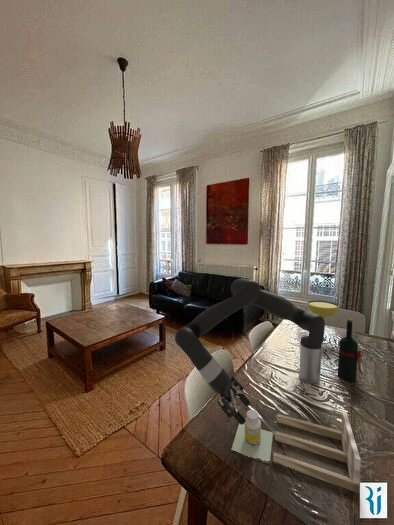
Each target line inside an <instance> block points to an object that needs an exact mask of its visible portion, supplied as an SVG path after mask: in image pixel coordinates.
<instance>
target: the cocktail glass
mask: <svg viewBox="0 0 394 525" xmlns="http://www.w3.org/2000/svg"><path fill="white" fill-rule="evenodd" d="M307 309H308V311H309V312H312V313H315V314H318V315H320V316H322V317H323V318H324V319H325V318H326V317H331V316H333V315H336V314H337V313H338V311H339V305H338V304H336V303H334V302H330V301H325V300H310V301H307ZM325 338H326V337H325ZM325 338H324V339H323V341H326V339H325Z"/></svg>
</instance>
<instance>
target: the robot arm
mask: <svg viewBox="0 0 394 525" xmlns="http://www.w3.org/2000/svg"><path fill="white" fill-rule="evenodd" d="M230 291H231V293H232V296H230V297H229V298H227V299H225V300H223V301H220V302H218V303H216V304H214V305H211V306H210V307H208V308H206V309H205V310H203V311H202V312H201V313H200V314H198V315H197V316H196V317H195V318H194V319H193V320H192V321H190V322H189V323H188V324H185V325H184V326H183V327H181V328H179V329H178V330H177V331H176V333H175V336H174V340H175V341H174V342H175V343H176V345H177V346H178V347H179V348H180V349H181V350H182V352H184V353H185V354H186V356H187V357H188V358H189V360H190V362H191V363H192V364H193V366H194V368H195V369H196V370H197V371H198V372H199V374H200V375H201V377H202V379H203V380H204V381H205V383H207V385H209V387H210V389H211V390H212V391H213V392H214V393H216V394H219V396H220V399H219V400H217V404H218V405H219V407H220V409H221V410H222V411H223V412H224V414H225V415H226V416H227V418H228V419H231V418H232V417H233V418H234V419H235V420H236V421H237V423H238V424H239V423H240V424H241V425H242V424H245V422H246V419H245V418H246V417H244V415H242V413H241V412H240V410H238V408H237V401H236V397H237V398H239V400H240V401H241V402H242V404H243V405H244V407H246V408H247V407H249V406H250V405H251V401H250V400H249V399H248V397H247V396H246V395H245V393H244V386H243V385H242V384H241V383H240V382H239V381H238V380H237V378H235V376H234V375H232V376H231V375H230V374H229V373H228V371H226V369H225V368H224V367H223V365H221V363H220V362H219V361H218V360H217V359H216V358H214V356H213V355H212V354H211V353H210V351H209V350H208V349H207V348H206V346H204V345H203V343H202V342H201V340H200V338H201V337H202V336H203V335H205V334H206V333H208V332H209V331H211V330H212V329H213V328H215V327H216V326H217V325H219V324H220V323H221V322H223V320H225V319H226V318H228V317H229V316H231V315H233V314H234V313H236V312H237V311H239V310H241V309H243V308H245V307H247V306H248V305H250V304H252V305H255V306H257V307H258V308H259V309H261V310H263V311H265V312H266V313H269V314H270V315H272V316H274V317H276V318H278V319H281V320H286V321H290V322H291V323H293V324H295V325H296V326H298V327H299V328H301V329H302V330H304V331H306V332H308V335H304V336H301V338H300V342H299V343H300V346H299V374H298V375H299V378H300V380H301V381H303V382H304V383H307V384H312V385H317V384H319V383H320V382H321V367H322V344H323V343H322V342H323V339H324V337H325V326H326V325H325V324H326V321H325V318H323V317H322V316H320V315H318V314H315V313H313V312H311V311H310V310H305V309H302V308H299V307H298V306H295V305H294V303H293V302H292V301H290V300H289V299H287V298H285V297H283V296H282V295H279V294H276V293H274V292H270V291H267V290H263V289H262V288H261V285H260V284H259V282H257V281H255V280H253V279H249V278H237V279H235V280H234V281H232V283H231V286H230Z"/></svg>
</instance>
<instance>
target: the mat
mask: <svg viewBox="0 0 394 525" xmlns="http://www.w3.org/2000/svg"><path fill="white" fill-rule="evenodd" d="M273 435H274V432H271V431H268V430H265V429H263V428H261V443H260V445H259V446H257V447H252V446H249V445H248V444H247V443H246V441H245V423H244V424H242V425H241V424H240V423H239V422H238V427H237V430H236V433H235V437H234V440H233V444H232V446H231V450H233V451H236V452H238V453H237V454H239V453H241V454H243V455H242V456H244V455H245V457H247V456H248V458H250V457H252V458H255V459H256V458H260V459H261V460H263V461H264V460H265V461H270V462H271V455H272V446H273V437H274V436H273ZM231 450H230V451H231ZM233 451H232V452H233ZM236 452H235V453H236ZM241 454H240V455H241ZM252 458H251V459H252ZM255 459H254V460H255Z"/></svg>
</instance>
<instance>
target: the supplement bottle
mask: <svg viewBox="0 0 394 525" xmlns="http://www.w3.org/2000/svg"><path fill="white" fill-rule="evenodd" d="M244 418H245V419H246V422H245V423H244V424H245V441H246V443H247V444H248V445H249V446H252V447H257V446H259V445H260V443H261V429H262V423H261V419H260V415H259V412H258V411H256V410H254V409H249V410H247V411H246V417H244Z"/></svg>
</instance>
